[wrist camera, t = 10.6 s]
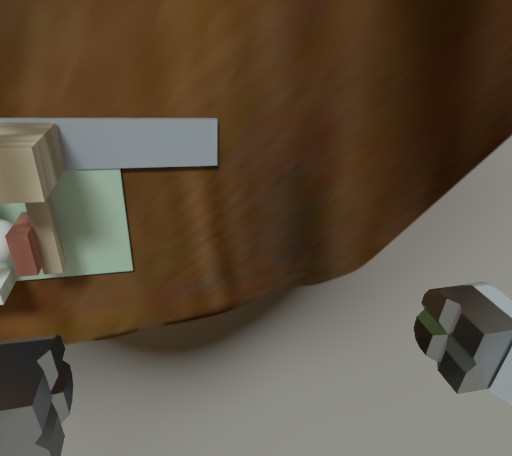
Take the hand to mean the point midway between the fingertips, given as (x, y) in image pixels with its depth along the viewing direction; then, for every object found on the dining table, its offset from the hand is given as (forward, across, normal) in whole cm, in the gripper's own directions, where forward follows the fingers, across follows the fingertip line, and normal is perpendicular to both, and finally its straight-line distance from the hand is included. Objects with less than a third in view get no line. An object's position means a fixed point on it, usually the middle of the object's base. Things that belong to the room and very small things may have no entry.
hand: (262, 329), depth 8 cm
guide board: (+29, +6, +4) cm, 30 cm away
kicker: (+28, +13, +9) cm, 32 cm away
